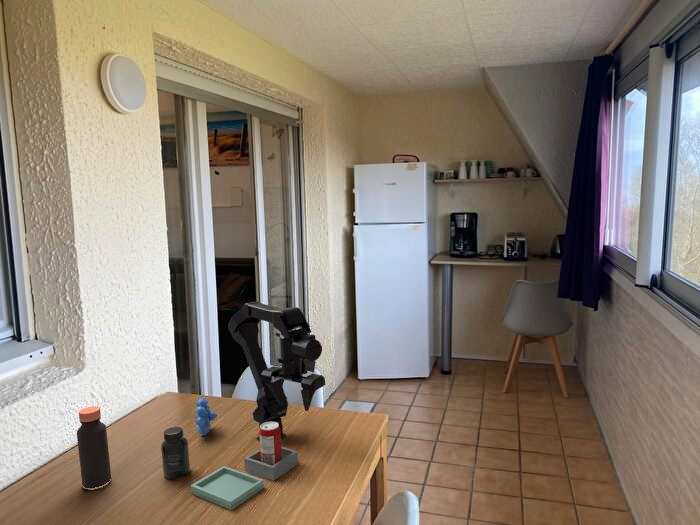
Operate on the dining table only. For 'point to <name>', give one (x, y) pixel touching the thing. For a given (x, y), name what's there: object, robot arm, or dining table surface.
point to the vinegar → (93, 448)
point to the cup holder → (269, 471)
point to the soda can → (270, 443)
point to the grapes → (204, 416)
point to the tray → (227, 487)
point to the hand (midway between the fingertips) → (294, 407)
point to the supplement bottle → (175, 454)
